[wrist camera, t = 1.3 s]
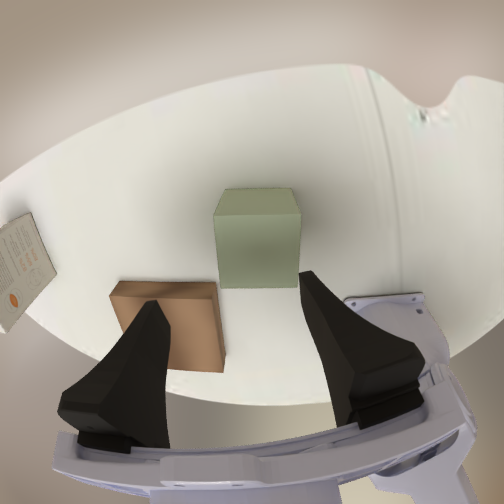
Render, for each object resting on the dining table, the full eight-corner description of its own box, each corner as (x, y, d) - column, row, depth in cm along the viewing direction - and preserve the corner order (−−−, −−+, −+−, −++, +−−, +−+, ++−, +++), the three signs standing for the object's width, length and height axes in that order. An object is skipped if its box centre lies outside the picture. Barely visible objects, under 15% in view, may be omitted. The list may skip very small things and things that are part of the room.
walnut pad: (216, 279, 25) (211, 299, 23) (226, 352, 30) (223, 372, 27) (121, 278, 26) (108, 295, 23) (145, 347, 30) (137, 365, 28)
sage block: (290, 187, 21) (301, 214, 15) (289, 246, 23) (297, 287, 18) (225, 189, 21) (213, 216, 16) (229, 247, 23) (220, 288, 18)
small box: (8, 221, 22) (-51, 265, 13) (31, 211, 22) (-36, 258, 13) (32, 279, 26) (-15, 332, 17) (58, 275, 25) (6, 335, 16)
